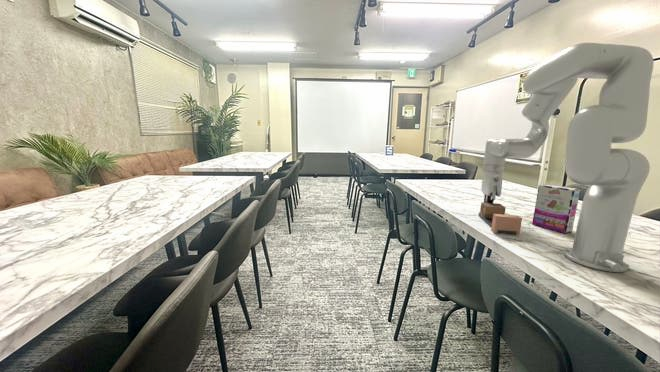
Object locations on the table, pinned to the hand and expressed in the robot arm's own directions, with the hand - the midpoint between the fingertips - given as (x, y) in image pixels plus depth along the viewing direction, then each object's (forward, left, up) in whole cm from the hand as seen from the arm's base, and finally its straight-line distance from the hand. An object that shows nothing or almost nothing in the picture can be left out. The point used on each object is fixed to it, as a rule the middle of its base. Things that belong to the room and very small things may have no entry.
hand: (487, 210), depth 111 cm
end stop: (-20, 0, -3) cm, 20 cm away
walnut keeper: (-6, 0, -1) cm, 6 cm away
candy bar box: (-8, -20, -3) cm, 22 cm away
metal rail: (-10, 0, -3) cm, 11 cm away
